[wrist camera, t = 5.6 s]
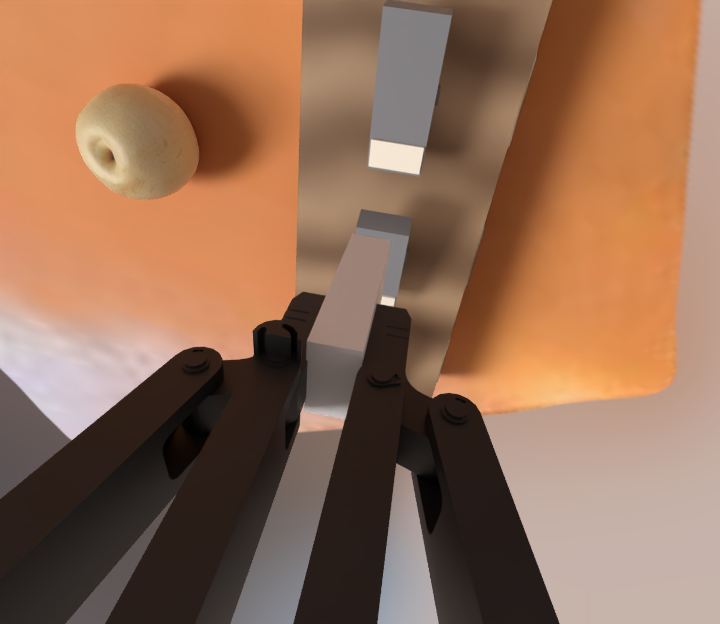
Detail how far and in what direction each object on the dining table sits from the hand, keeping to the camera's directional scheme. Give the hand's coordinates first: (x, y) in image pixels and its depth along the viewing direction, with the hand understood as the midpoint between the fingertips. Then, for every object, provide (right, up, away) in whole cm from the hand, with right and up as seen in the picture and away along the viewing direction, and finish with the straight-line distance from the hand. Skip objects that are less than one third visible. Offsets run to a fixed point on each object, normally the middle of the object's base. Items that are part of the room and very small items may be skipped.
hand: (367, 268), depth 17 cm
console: (+2, +6, +18) cm, 20 cm away
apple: (-16, +13, +18) cm, 27 cm away
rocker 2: (+1, +2, +12) cm, 13 cm away
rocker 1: (+2, +10, +6) cm, 12 cm away
